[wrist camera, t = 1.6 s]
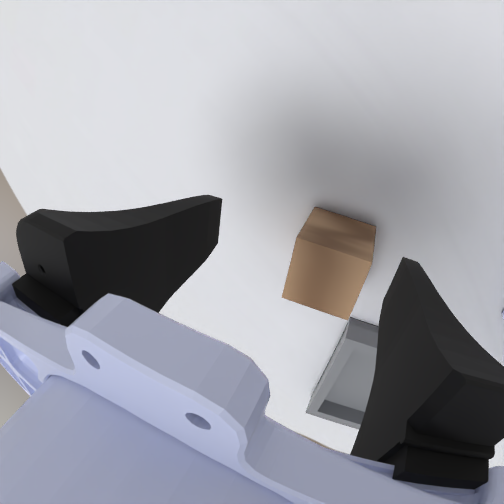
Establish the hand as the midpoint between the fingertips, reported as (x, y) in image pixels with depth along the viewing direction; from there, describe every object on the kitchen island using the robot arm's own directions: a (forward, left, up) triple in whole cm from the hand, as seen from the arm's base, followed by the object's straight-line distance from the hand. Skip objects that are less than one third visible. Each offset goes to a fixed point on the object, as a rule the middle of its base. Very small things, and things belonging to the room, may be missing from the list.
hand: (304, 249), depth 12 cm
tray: (-10, +17, -10) cm, 22 cm away
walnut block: (-1, +5, -10) cm, 12 cm away
